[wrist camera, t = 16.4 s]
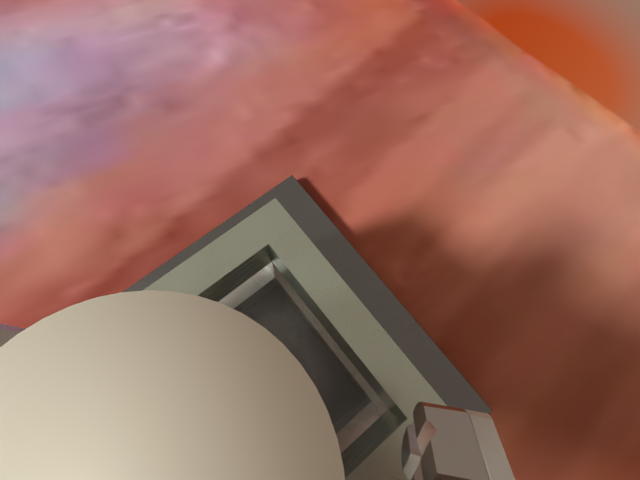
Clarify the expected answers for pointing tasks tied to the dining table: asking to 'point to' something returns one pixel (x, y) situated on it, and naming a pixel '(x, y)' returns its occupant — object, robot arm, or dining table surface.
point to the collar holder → (324, 321)
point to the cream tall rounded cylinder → (159, 396)
